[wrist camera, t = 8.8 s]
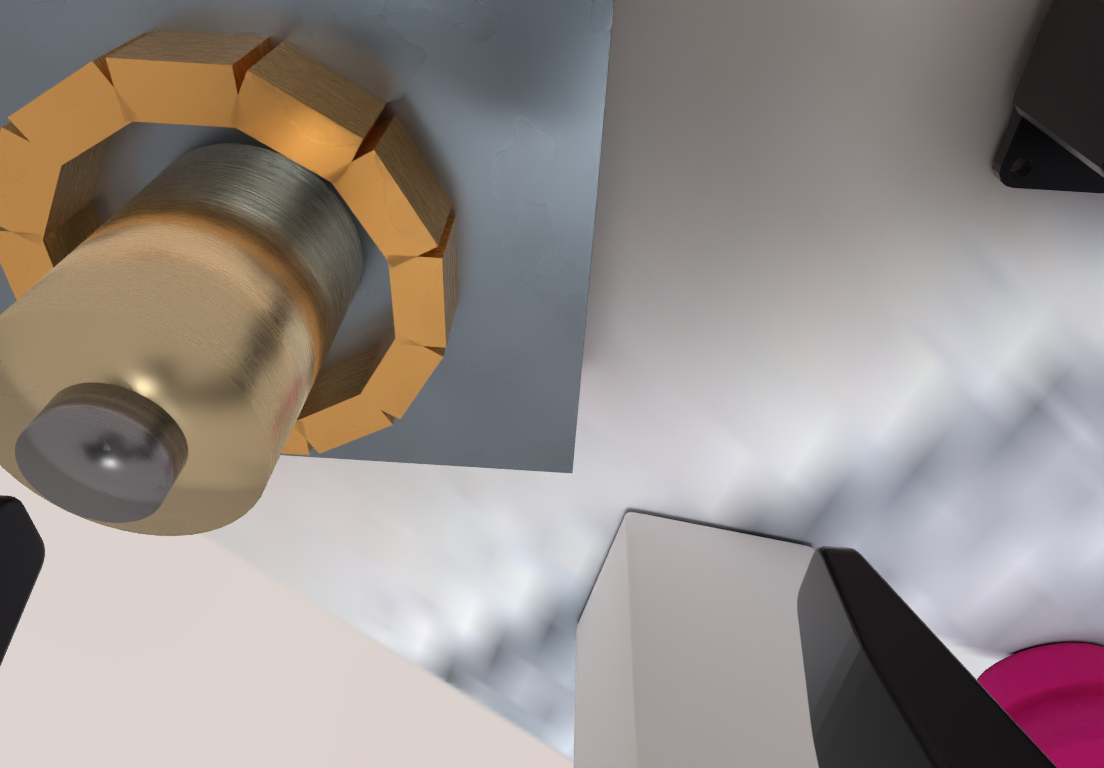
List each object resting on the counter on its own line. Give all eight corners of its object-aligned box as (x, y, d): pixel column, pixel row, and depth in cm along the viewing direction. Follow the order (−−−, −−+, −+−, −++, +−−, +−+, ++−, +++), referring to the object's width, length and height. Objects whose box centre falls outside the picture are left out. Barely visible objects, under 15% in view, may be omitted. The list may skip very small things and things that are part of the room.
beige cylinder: (350, 150, 15) (214, 356, 9) (372, 339, 17) (275, 583, 12) (122, 135, 15) (-145, 333, 9) (178, 326, 17) (-5, 565, 12)
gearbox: (612, -93, 16) (622, -41, 11) (575, 368, 23) (570, 525, 18) (-201, -142, 16) (-557, -113, 11) (17, 334, 23) (-138, 481, 18)
